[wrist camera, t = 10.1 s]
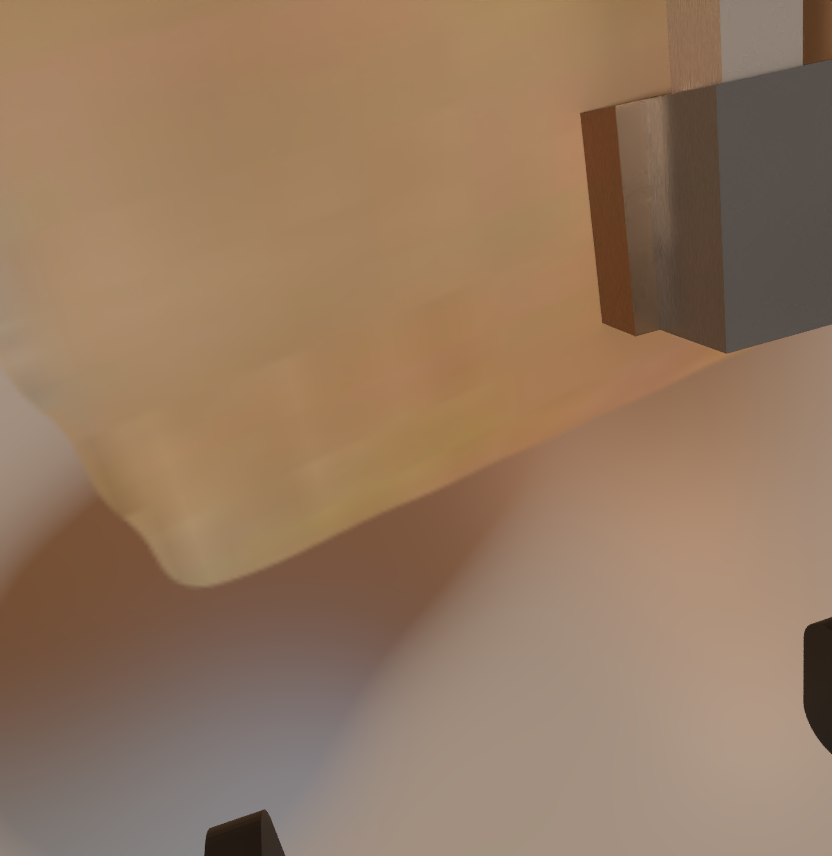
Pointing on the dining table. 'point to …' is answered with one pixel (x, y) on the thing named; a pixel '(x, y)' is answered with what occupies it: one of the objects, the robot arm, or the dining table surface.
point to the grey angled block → (731, 40)
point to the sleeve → (716, 209)
